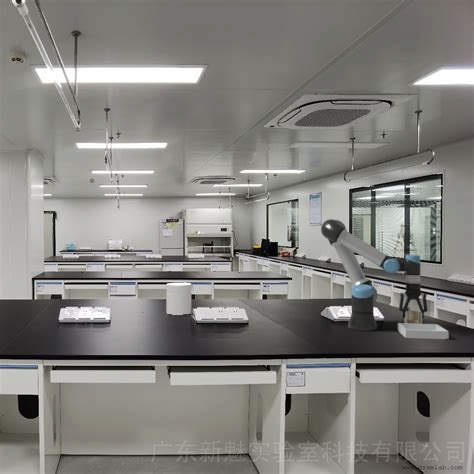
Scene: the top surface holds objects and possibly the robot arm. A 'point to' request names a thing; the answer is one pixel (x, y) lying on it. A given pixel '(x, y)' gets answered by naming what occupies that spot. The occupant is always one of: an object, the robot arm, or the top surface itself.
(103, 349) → the top surface
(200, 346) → the top surface
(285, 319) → the top surface
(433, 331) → the tray
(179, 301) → the canister
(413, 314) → the tan cylinder
